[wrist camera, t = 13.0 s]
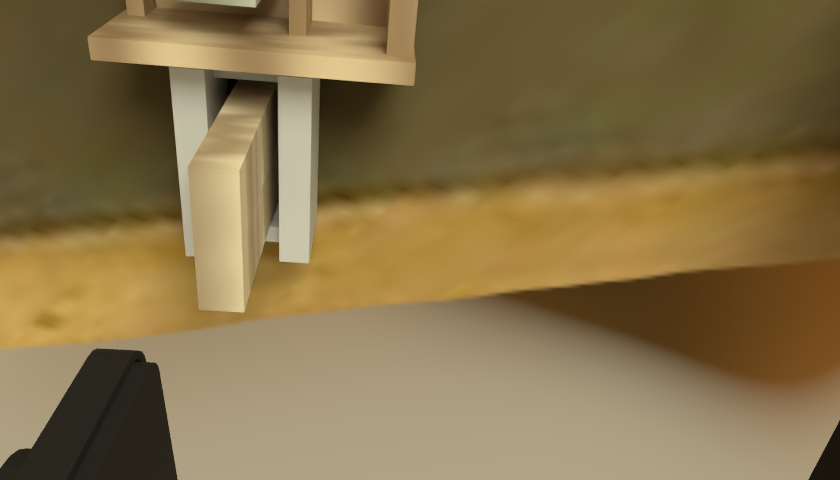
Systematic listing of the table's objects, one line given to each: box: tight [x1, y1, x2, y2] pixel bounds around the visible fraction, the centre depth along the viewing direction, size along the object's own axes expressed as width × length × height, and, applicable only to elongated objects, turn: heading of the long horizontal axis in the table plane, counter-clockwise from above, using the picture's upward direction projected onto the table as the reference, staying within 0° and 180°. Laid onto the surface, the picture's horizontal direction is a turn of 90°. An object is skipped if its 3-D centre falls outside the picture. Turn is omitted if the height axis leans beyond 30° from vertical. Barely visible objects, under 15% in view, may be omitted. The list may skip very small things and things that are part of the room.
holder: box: [169, 66, 320, 263], centre depth 37 cm, size 7×10×5 cm, turn 175°
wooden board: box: [188, 79, 279, 312], centre depth 34 cm, size 2×7×12 cm, turn 174°
